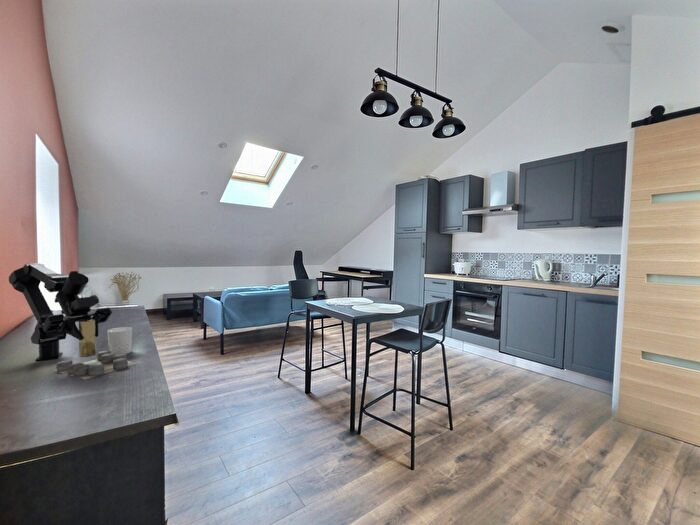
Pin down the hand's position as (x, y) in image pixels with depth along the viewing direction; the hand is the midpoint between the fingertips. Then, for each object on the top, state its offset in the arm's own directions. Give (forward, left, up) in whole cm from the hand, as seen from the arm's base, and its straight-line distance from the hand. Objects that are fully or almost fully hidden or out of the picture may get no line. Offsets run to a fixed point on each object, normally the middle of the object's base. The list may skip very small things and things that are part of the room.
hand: (89, 337), depth 112 cm
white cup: (-12, +7, -11) cm, 18 cm away
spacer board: (+3, +2, -10) cm, 11 cm away
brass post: (-1, -1, -6) cm, 6 cm away
